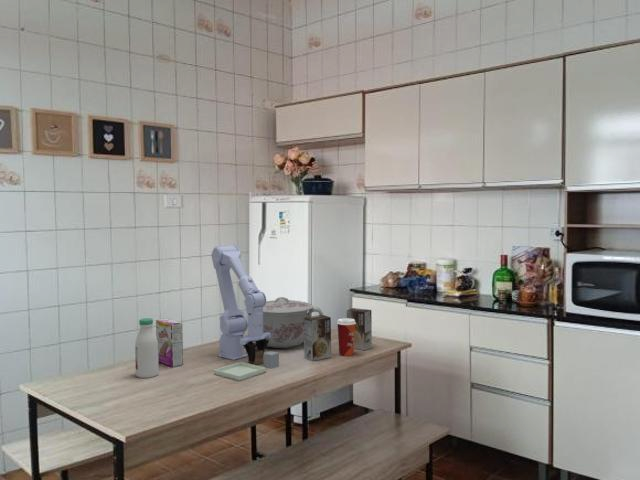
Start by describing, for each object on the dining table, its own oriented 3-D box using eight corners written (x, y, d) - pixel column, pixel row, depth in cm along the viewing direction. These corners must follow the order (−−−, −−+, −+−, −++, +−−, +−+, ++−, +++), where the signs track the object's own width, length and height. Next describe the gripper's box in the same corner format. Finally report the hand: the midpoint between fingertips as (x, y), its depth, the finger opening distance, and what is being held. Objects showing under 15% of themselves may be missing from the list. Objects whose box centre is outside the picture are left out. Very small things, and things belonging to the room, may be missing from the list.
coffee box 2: (372, 347, 238) (372, 309, 237) (365, 350, 233) (365, 312, 232) (353, 344, 243) (353, 307, 243) (346, 347, 238) (345, 309, 237)
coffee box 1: (322, 354, 228) (322, 314, 227) (331, 357, 223) (331, 316, 222) (303, 357, 223) (303, 316, 222) (312, 361, 218) (312, 319, 217)
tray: (213, 374, 201) (213, 369, 201) (240, 366, 211) (240, 361, 211) (239, 381, 193) (239, 376, 193) (265, 372, 203) (265, 367, 203)
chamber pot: (236, 345, 243) (235, 297, 242) (282, 334, 263) (281, 290, 262) (283, 356, 224) (282, 304, 223) (328, 344, 245) (327, 296, 244)
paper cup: (354, 357, 223) (354, 322, 222) (335, 356, 225) (335, 321, 224) (357, 352, 231) (357, 318, 230) (338, 351, 232) (338, 317, 231)
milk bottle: (163, 373, 203) (161, 317, 202) (149, 379, 196) (148, 321, 194) (144, 371, 205) (143, 316, 204) (131, 377, 198) (129, 320, 197)
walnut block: (248, 363, 214) (248, 350, 214) (256, 361, 217) (255, 348, 217) (256, 365, 212) (255, 352, 211) (263, 363, 215) (263, 350, 215)
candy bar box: (155, 362, 217) (155, 319, 216) (167, 359, 221) (166, 318, 220) (172, 367, 209) (171, 323, 209) (183, 365, 213) (182, 321, 212)
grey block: (263, 366, 211) (263, 353, 210) (271, 364, 214) (270, 351, 213) (271, 368, 208) (271, 355, 208) (278, 366, 211) (278, 352, 211)
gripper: (249, 329, 206) (249, 365, 206) (276, 322, 217) (276, 357, 218) (235, 326, 210) (236, 362, 211) (263, 320, 221) (263, 354, 222)
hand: (255, 359), depth 214 cm, fingers closed on walnut block, 4 cm apart
